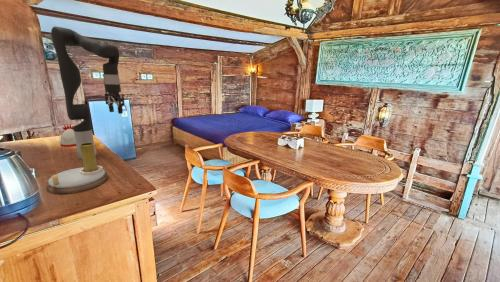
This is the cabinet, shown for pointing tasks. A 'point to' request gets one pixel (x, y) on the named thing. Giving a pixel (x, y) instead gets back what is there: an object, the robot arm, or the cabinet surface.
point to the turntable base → (76, 189)
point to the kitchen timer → (68, 137)
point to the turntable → (75, 178)
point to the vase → (88, 157)
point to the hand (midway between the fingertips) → (116, 112)
